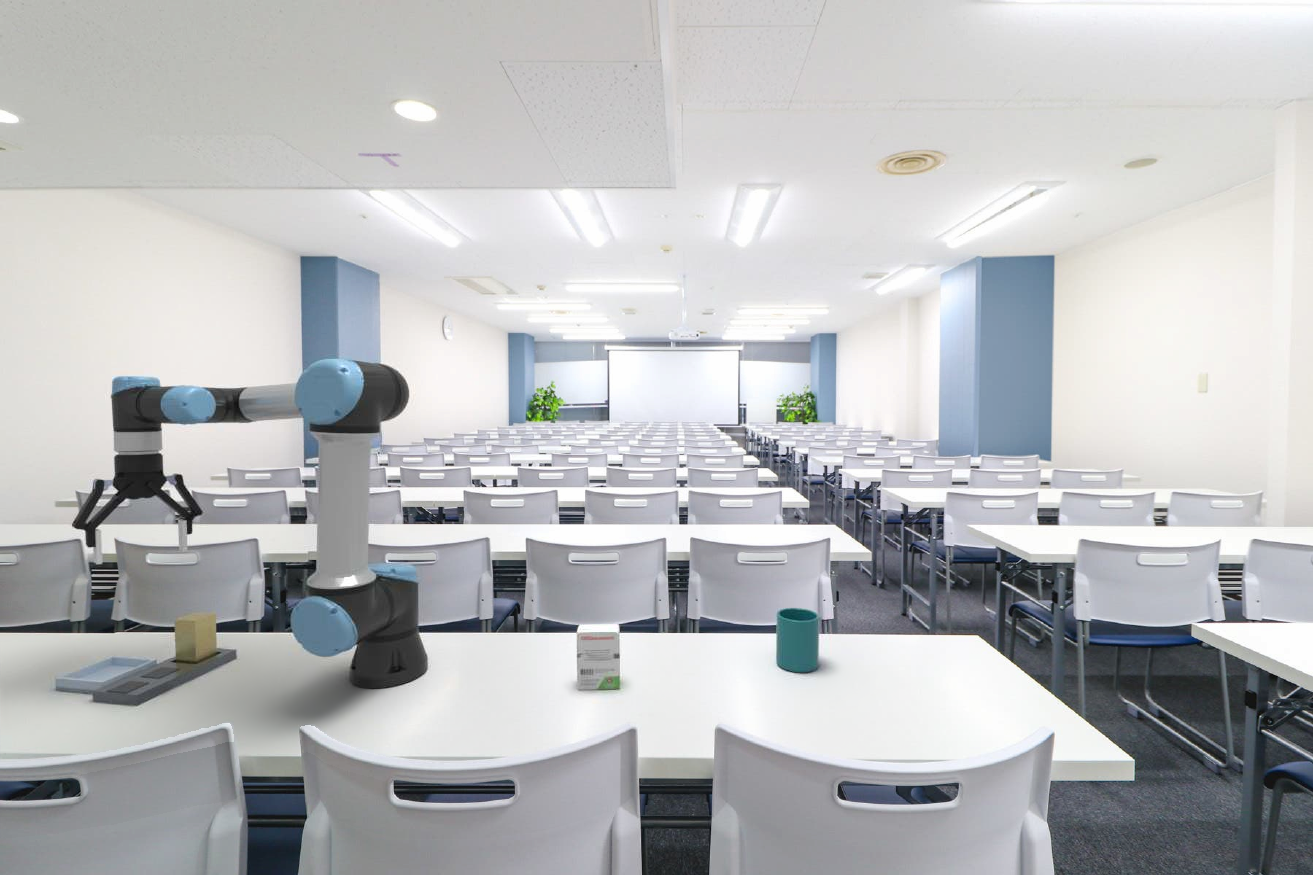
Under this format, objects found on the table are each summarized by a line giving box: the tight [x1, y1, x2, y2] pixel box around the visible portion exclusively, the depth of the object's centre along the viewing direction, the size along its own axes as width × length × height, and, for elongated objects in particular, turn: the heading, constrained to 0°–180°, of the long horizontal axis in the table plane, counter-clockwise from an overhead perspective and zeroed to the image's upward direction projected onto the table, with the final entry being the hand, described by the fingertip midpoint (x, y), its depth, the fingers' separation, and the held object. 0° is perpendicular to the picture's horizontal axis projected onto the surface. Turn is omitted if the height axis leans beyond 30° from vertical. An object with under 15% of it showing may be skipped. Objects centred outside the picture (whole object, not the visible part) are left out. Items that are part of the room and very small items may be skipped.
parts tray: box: [54, 655, 158, 695], centre depth 124 cm, size 11×11×2 cm
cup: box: [775, 607, 820, 674], centre depth 134 cm, size 9×12×11 cm
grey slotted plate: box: [92, 647, 238, 707], centre depth 125 cm, size 10×22×2 cm, turn 171°
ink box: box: [576, 623, 621, 691], centre depth 123 cm, size 9×5×12 cm, turn 93°
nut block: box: [173, 611, 218, 664], centre depth 131 cm, size 5×5×11 cm
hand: (142, 556), depth 124 cm, fingers open, 13 cm apart
